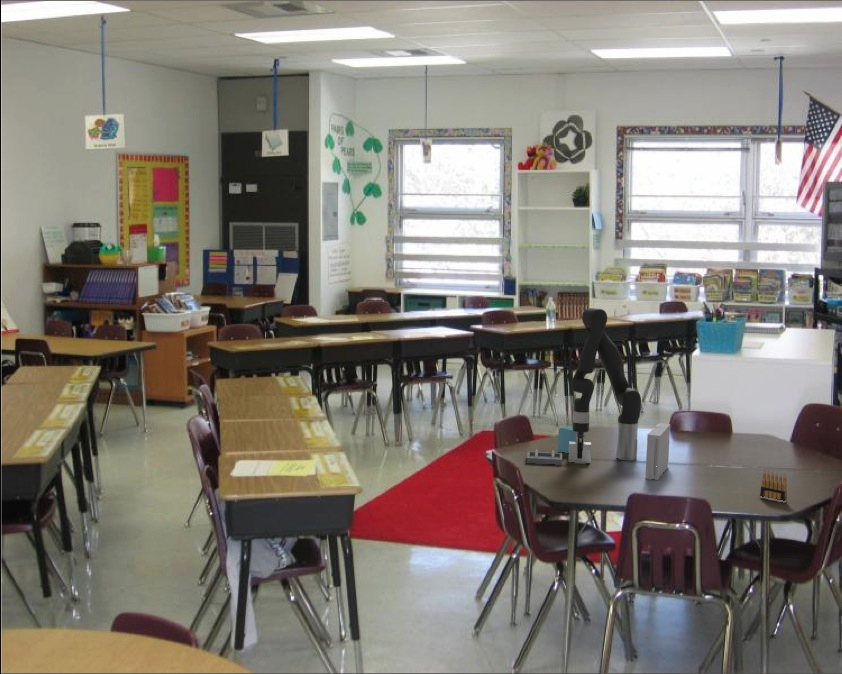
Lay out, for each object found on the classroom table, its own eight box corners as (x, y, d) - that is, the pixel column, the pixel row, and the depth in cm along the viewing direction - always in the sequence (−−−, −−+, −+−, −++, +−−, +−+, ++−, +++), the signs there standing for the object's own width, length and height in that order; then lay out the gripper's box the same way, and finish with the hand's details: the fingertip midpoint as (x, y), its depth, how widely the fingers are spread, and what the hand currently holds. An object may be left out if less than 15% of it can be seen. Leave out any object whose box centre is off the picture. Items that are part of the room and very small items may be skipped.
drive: (590, 461, 520) (590, 442, 519) (590, 463, 515) (591, 444, 514) (568, 460, 521) (569, 441, 520) (568, 462, 517) (569, 443, 515)
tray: (561, 458, 524) (562, 450, 523) (561, 465, 511) (562, 456, 510) (527, 457, 525) (527, 448, 525) (526, 463, 513) (526, 454, 512)
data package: (583, 454, 533) (584, 430, 531) (577, 456, 529) (578, 431, 528) (563, 450, 541) (564, 425, 540) (557, 451, 538) (558, 427, 537)
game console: (644, 479, 490) (646, 434, 487) (655, 465, 515) (657, 423, 512) (657, 480, 488) (659, 435, 485) (668, 466, 513) (670, 424, 510)
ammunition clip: (759, 498, 462) (761, 470, 461) (761, 497, 464) (763, 469, 462) (784, 503, 455) (786, 474, 454) (786, 502, 457) (788, 474, 455)
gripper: (589, 424, 508) (588, 461, 510) (588, 418, 522) (587, 453, 524) (572, 423, 509) (571, 460, 511) (572, 417, 523) (571, 453, 525)
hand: (579, 456), depth 518 cm, fingers open, 5 cm apart
